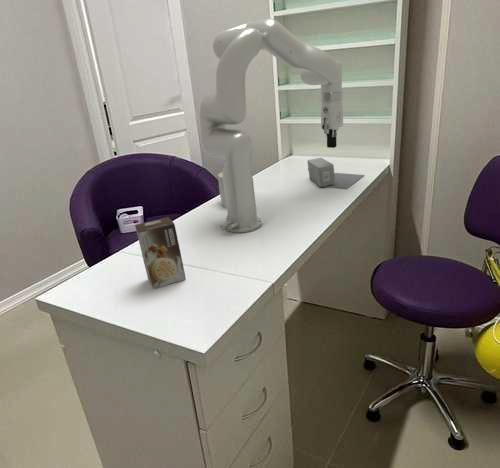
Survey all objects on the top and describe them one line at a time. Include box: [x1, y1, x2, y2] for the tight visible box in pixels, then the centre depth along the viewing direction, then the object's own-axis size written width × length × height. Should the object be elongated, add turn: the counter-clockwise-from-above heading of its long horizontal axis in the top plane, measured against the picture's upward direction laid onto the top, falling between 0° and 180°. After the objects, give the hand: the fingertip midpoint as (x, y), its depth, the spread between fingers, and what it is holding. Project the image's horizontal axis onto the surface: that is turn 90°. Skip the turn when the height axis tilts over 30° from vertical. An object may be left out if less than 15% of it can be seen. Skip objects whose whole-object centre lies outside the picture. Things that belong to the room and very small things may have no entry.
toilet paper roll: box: [217, 171, 227, 208], centre depth 161 cm, size 12×12×12 cm
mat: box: [316, 172, 365, 190], centre depth 175 cm, size 18×13×1 cm
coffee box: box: [134, 216, 187, 289], centre depth 109 cm, size 9×6×16 cm
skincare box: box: [307, 157, 335, 188], centre depth 174 cm, size 8×7×16 cm
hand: (331, 147), depth 163 cm, fingers closed
